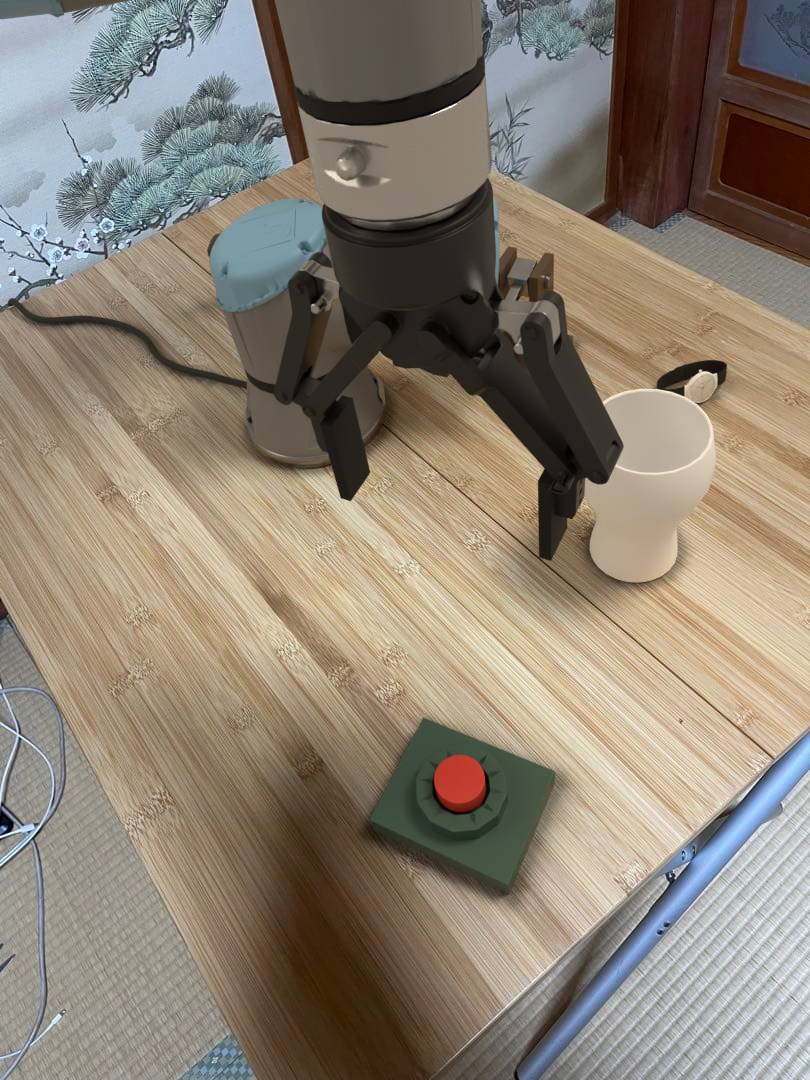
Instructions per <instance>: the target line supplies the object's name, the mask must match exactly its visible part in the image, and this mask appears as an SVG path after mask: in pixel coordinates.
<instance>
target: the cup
mask: <svg viewBox="0 0 810 1080" xmlns="http://www.w3.org/2000/svg"><path fill="white" fill-rule="evenodd" d="M602 402H603V404H604V406H605V408H606V410H607V412H608V414H609V416H610V418H611V420H612V422H613V424H614V426H615V428H616V430H617V432H618V434H619V436H620V438H621V440H622V442H623V445H624V447H623V450H622V453H621V455H620V457H619V459H618V461H617V463H616V465H615V467H614V470H613V472H612V474H611V476H610V478H609V480H608V482H607V483H606V484H602V485H600V484H595V483H592V482H591V481H590V480H589V479H588V478H585V495H584V499H585V501H586V502H587V505H588V506H589V507H590V508H591V510H592V511H593V513H594V514H595V518H596V521H595V522H594V526H593V529H592V532H591V535H590V539H589V553H590V556H591V559H592V561H593V562H594V564H595V565H596V566H597V568H598V569H599V570H601V571H602V572H603V573H604V574H605V575H607V576H609V577H611V578H613V579H615V580H619V581H622V582H626V583H637V584H638V583H639V584H640V583H646V582H651V581H653V580H656V579H658V578H661V577H663V576H664V575H665V574H667V573H668V572H669V571H670V570H671V569H672V567H673V566H674V564H675V563H676V560H677V557H678V544H679V543H678V527H679V525H680V524H681V523H682V522H683V521H685V520H686V519H688V518H689V517H690V516H691V515H692V514H693V512H694V511H695V509H696V508H697V507H698V505H699V504H700V503H701V501H702V500H703V499H704V497H705V496H706V495H707V494H708V492H709V491H710V490H709V489H710V487H711V483H712V480H713V478H714V477H713V476H714V472H715V469H716V465H717V464H716V463H717V454H716V443H715V435H714V426H713V424H712V422H711V420H710V418H709V416H708V414H707V413H706V411H704V409H702V408H701V407H700V405H698V404H697V403H696V402H693V401H691V400H689V399H688V398H686V397H684V396H681V395H679V394H676V393H673V392H670V391H664V390H659V389H657V388H636V389H631V390H625V391H622V392H620V393H616V394H614V395H611V396H609V397H608V398H606V399H604V400H603V401H602Z"/></svg>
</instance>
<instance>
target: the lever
mask: <svg viewBox="0 0 810 1080" xmlns="http://www.w3.org/2000/svg"><path fill="white" fill-rule="evenodd" d="M537 264H538V260H536V259H530V258H526V257H525V258H524V257H518V256H517V258H516V260H515V262H514V264H513V266H512V268H511V270H510V272H509V274H508V276H507V281H508V288H509V291H508V293H507V295H506V297H505V300H512V301H520V299H521V297H524V298H529V276H530V274H531V273H532V271H533V270H534V268H535V267H536V265H537ZM500 330H501V329H500ZM501 331H502V333H503V331H504V330H501ZM484 356H485V351H484V349H483V348H482V349H481V350H480V351H479V352H478V353H477V354H476V356H475V357H474V358H473V359H472V361H473V362H474V363H475V365H476V366H477V367H478V365H479V364H480V362H481V361H482V359H483V358H484Z"/></svg>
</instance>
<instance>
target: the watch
mask: <svg viewBox="0 0 810 1080" xmlns="http://www.w3.org/2000/svg"><path fill="white" fill-rule="evenodd" d="M727 372H728V364H727V363H726V362H725V361H723V360H718V359H704V360H699V361H694V362H689V363H684V364H683V365H680V366H677V367H675V368H674V369H672V370H670V371H667V372H665V373H664V374H662V375H661V376H660V377H659V378H658V380H657V381H656V389H659V390H664V391H670V392H673V393H676V394H679V395H681V396H684V397H686V398H688V399H689V400H691V401H692V402H694V403H696V404H697V403H699V404H700V403H704V402H706V401H707V400H709V398H710V397H712V395H713V394H714V392H715V391H716V389H717V388H718V387H720V386H722V385H723V384H724V383H725V382H726V379H727ZM688 379H690V380H689V381H688V383H687V384H685V385H683V386H681V387H675V388H667V387H669V386H671V385H673V384H676V383H678V382H681V381H684V380H688Z"/></svg>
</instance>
